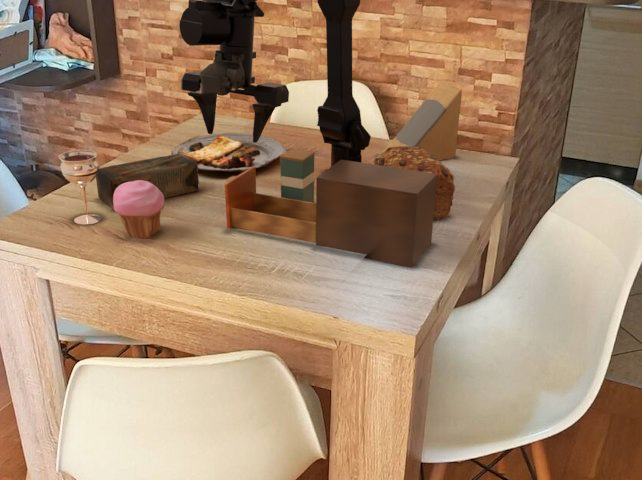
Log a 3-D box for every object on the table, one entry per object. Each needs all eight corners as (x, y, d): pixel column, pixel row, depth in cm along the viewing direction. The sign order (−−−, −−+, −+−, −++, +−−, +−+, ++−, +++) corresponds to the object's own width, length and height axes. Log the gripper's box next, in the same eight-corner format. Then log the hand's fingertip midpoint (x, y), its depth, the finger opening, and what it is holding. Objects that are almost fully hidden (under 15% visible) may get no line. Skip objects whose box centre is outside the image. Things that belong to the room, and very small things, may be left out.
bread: (452, 219, 153) (458, 167, 148) (398, 224, 151) (401, 171, 146) (420, 185, 169) (423, 137, 163) (370, 189, 167) (372, 140, 161)
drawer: (220, 229, 148) (217, 182, 144) (247, 209, 156) (245, 165, 152) (315, 247, 142) (316, 199, 137) (339, 226, 150) (340, 180, 145)
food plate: (236, 186, 168) (236, 169, 166) (150, 166, 178) (148, 150, 176) (302, 154, 186) (302, 138, 184) (220, 137, 196) (219, 122, 194)
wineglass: (67, 215, 154) (56, 152, 148) (103, 210, 156) (94, 148, 150) (71, 228, 149) (60, 163, 143) (108, 223, 151) (99, 159, 145)
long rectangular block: (280, 213, 156) (279, 156, 150) (292, 204, 160) (292, 148, 154) (303, 217, 154) (303, 159, 148) (314, 208, 158) (314, 151, 152)
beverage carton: (201, 191, 165) (199, 159, 162) (113, 212, 156) (108, 178, 152) (182, 180, 171) (179, 149, 167) (96, 200, 161) (91, 167, 158)
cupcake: (152, 248, 142) (146, 193, 136) (108, 242, 144) (100, 187, 139) (175, 229, 149) (170, 176, 143) (133, 223, 151) (126, 170, 146)
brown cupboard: (315, 249, 142) (316, 177, 135) (339, 227, 150) (341, 159, 143) (411, 267, 136) (417, 193, 129) (431, 244, 144) (437, 173, 137)
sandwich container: (377, 156, 185) (380, 87, 176) (434, 147, 190) (440, 80, 182) (397, 167, 178) (401, 96, 170) (455, 157, 184) (462, 88, 176)
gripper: (163, 40, 136) (163, 136, 144) (263, 55, 130) (258, 154, 138) (198, 37, 145) (196, 127, 153) (293, 50, 139) (286, 144, 147)
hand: (232, 138), depth 147 cm, fingers open, 9 cm apart
